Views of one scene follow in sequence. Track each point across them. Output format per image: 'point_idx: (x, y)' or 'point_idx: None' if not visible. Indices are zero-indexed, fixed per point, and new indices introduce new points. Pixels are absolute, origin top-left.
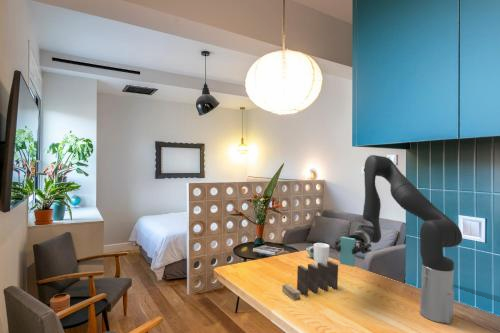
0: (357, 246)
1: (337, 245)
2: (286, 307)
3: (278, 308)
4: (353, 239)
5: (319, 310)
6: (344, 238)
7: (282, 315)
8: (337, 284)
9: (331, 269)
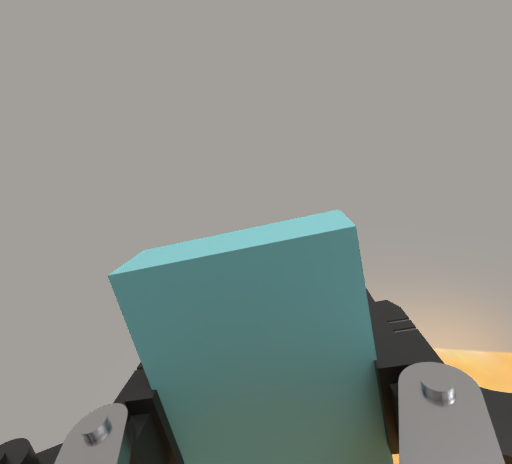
0: (112, 403)
1: (407, 325)
2: (482, 387)
3: (486, 366)
4: (150, 250)
5: (393, 456)
6: (279, 228)
7: (434, 350)
8: None
9: None
